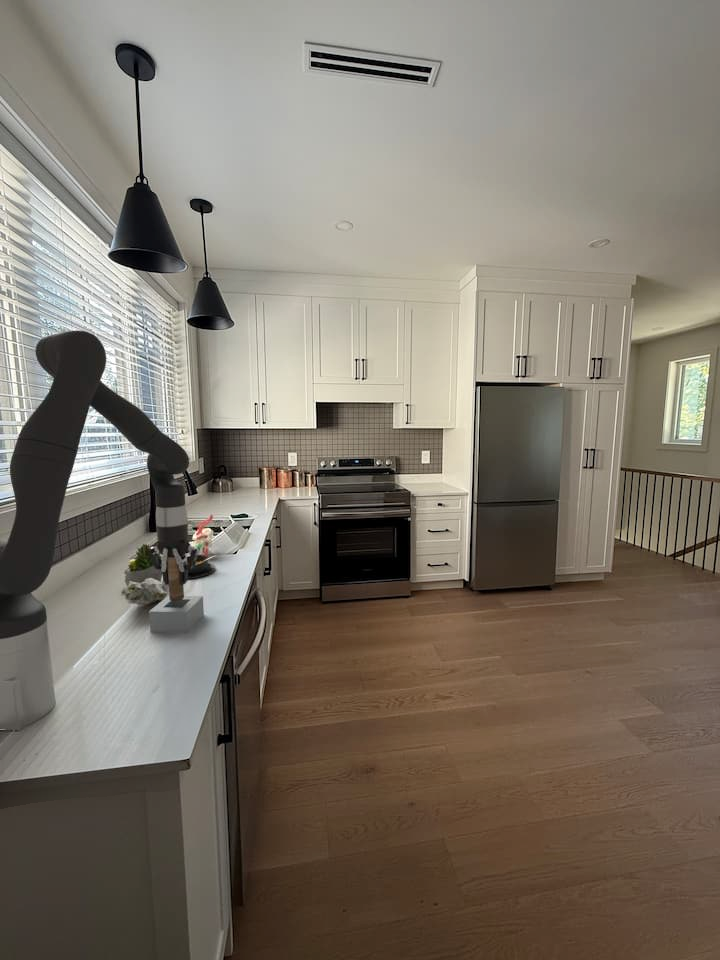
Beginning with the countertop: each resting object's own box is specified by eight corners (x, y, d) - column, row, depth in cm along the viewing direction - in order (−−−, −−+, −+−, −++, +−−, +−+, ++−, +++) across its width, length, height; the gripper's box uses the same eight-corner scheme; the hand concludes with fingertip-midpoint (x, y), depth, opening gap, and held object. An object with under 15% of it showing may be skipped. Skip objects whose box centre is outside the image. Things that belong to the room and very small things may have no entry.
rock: (159, 617, 112) (157, 584, 111) (117, 622, 109) (115, 588, 108) (172, 591, 130) (170, 562, 129) (136, 595, 127) (134, 565, 126)
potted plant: (123, 584, 136) (119, 542, 134) (163, 576, 144) (161, 536, 142) (127, 596, 127) (124, 551, 125) (170, 586, 134) (168, 544, 132)
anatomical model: (187, 553, 170) (185, 512, 168) (213, 550, 174) (211, 511, 172) (187, 564, 156) (184, 520, 154) (215, 561, 161) (213, 518, 158)
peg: (180, 601, 106) (177, 558, 104) (167, 600, 106) (164, 557, 104) (186, 595, 109) (184, 553, 108) (173, 595, 109) (171, 553, 108)
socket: (187, 633, 103) (186, 612, 103) (150, 633, 104) (148, 611, 103) (203, 615, 113) (202, 596, 112) (169, 615, 113) (168, 595, 113)
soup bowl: (198, 564, 157) (197, 546, 157) (225, 571, 149) (224, 552, 148) (163, 576, 145) (162, 556, 144) (190, 584, 137) (189, 564, 136)
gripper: (137, 525, 101) (142, 589, 103) (191, 525, 101) (195, 589, 103) (153, 518, 109) (157, 578, 111) (204, 519, 108) (207, 578, 111)
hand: (175, 583), depth 107 cm, fingers closed on peg, 3 cm apart
